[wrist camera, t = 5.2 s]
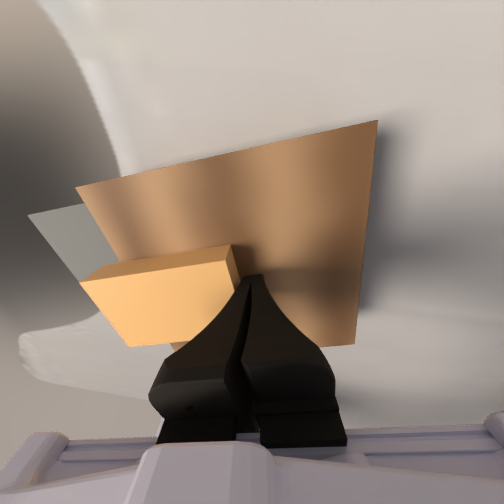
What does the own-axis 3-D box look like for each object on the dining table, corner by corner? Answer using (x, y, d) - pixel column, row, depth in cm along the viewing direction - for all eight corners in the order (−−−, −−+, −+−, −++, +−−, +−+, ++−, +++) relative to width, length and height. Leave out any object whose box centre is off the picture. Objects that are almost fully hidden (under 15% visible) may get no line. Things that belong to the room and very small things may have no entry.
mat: (119, 327, 21) (116, 330, 21) (32, 213, 15) (27, 215, 15) (190, 319, 20) (189, 322, 20) (129, 193, 14) (126, 194, 14)
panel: (193, 325, 21) (180, 359, 17) (122, 180, 14) (75, 187, 10) (336, 309, 19) (354, 344, 15) (341, 131, 12) (377, 119, 8)
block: (144, 324, 15) (129, 346, 13) (104, 264, 12) (79, 282, 11) (248, 312, 14) (247, 335, 12) (230, 244, 11) (225, 260, 10)
